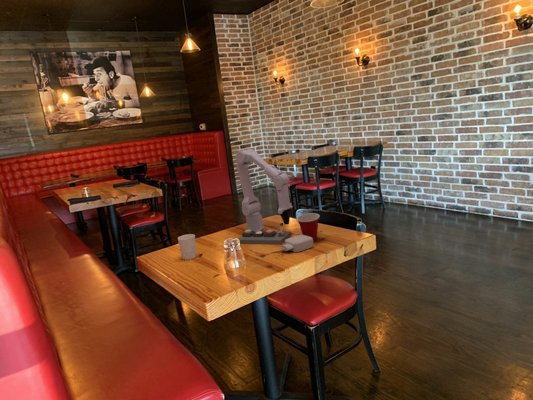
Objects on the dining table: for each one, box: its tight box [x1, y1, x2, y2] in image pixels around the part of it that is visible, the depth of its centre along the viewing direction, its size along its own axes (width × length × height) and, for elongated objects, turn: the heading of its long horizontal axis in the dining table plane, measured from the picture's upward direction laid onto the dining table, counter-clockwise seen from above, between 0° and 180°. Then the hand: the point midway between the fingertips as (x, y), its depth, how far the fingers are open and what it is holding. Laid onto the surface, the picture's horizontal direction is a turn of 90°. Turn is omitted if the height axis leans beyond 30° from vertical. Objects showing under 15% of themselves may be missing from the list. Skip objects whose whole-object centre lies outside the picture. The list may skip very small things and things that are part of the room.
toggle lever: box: [279, 222, 284, 233], centre depth 196 cm, size 2×2×5 cm
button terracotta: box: [265, 228, 274, 234], centre depth 197 cm, size 3×3×2 cm
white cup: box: [177, 233, 198, 261], centre depth 186 cm, size 8×8×10 cm
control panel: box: [237, 230, 292, 245], centre depth 199 cm, size 14×24×4 cm, turn 67°
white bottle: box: [278, 234, 314, 253], centre depth 179 cm, size 5×9×15 cm
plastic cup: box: [296, 212, 320, 243], centre depth 187 cm, size 11×11×12 cm
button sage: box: [244, 228, 251, 234], centre depth 202 cm, size 3×3×2 cm
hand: (286, 224), depth 202 cm, fingers closed
